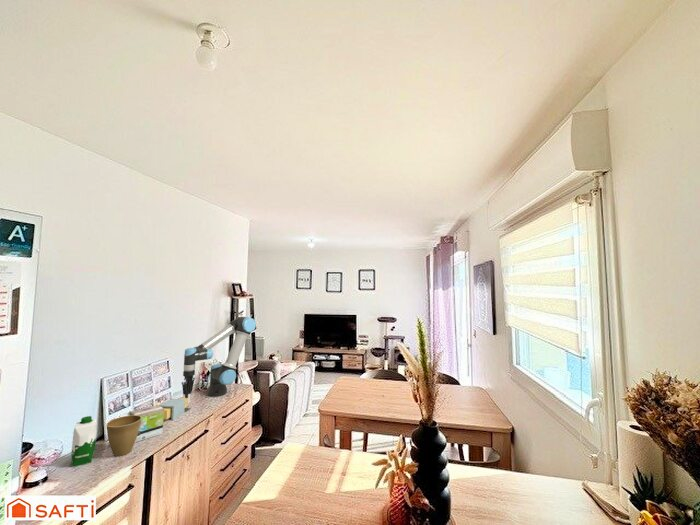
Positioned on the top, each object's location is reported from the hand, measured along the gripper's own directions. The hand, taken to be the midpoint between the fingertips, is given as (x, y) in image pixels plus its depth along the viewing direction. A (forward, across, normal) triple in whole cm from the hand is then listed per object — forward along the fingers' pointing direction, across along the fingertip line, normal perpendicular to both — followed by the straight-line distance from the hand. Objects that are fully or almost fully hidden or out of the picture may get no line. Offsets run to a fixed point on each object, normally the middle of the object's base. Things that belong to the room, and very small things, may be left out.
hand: (186, 403), depth 224 cm
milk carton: (+3, +74, -7) cm, 74 cm away
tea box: (+3, +46, +4) cm, 46 cm away
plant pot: (+3, +64, +5) cm, 64 cm away
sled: (+1, +14, 0) cm, 15 cm away
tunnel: (+2, +16, 0) cm, 17 cm away
